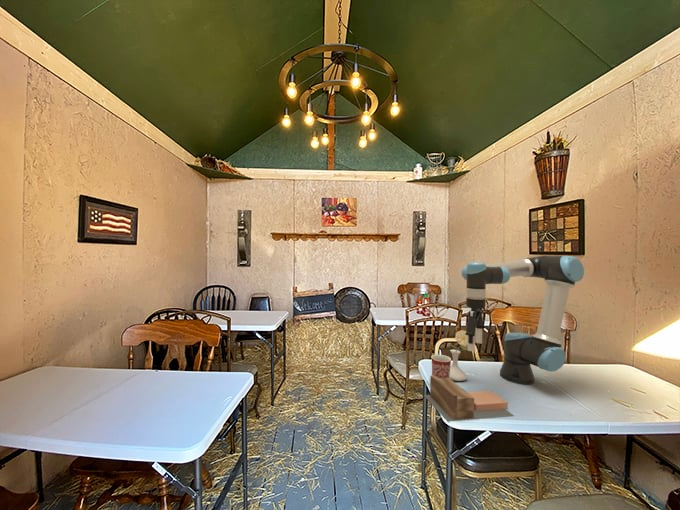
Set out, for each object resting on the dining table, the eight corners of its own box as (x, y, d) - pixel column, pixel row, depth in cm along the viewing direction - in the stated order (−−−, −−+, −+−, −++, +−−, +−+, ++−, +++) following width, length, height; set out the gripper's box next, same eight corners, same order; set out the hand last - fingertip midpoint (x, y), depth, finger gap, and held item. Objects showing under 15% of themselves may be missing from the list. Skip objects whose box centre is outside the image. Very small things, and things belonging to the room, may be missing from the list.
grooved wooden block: (448, 394, 128) (448, 374, 128) (473, 417, 110) (474, 394, 110) (430, 395, 127) (430, 375, 126) (452, 419, 109) (453, 395, 109)
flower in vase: (442, 380, 143) (443, 330, 143) (443, 372, 154) (444, 325, 154) (471, 385, 138) (472, 333, 138) (470, 376, 149) (471, 328, 149)
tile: (490, 396, 127) (490, 390, 127) (507, 408, 117) (507, 402, 117) (461, 398, 125) (461, 392, 125) (476, 411, 115) (476, 404, 115)
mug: (453, 391, 132) (453, 361, 132) (432, 389, 133) (433, 360, 133) (445, 379, 145) (446, 352, 145) (427, 378, 146) (428, 351, 146)
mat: (481, 392, 132) (481, 391, 132) (514, 417, 112) (514, 416, 112) (423, 396, 127) (423, 395, 127) (448, 422, 107) (448, 421, 107)
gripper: (473, 294, 137) (472, 338, 138) (458, 300, 118) (457, 352, 118) (491, 295, 133) (490, 341, 133) (478, 302, 113) (477, 356, 113)
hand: (475, 346), depth 125 cm, fingers open, 13 cm apart
